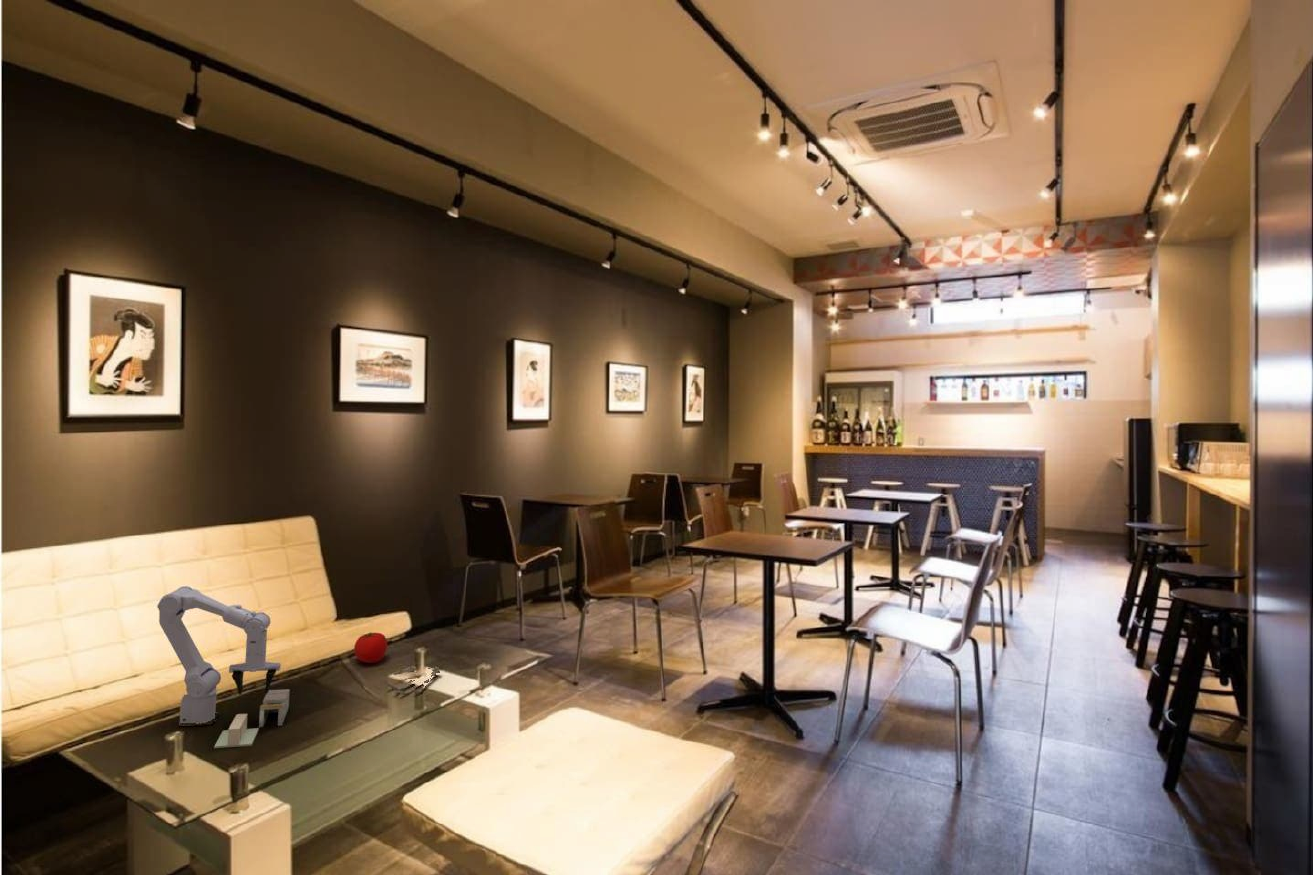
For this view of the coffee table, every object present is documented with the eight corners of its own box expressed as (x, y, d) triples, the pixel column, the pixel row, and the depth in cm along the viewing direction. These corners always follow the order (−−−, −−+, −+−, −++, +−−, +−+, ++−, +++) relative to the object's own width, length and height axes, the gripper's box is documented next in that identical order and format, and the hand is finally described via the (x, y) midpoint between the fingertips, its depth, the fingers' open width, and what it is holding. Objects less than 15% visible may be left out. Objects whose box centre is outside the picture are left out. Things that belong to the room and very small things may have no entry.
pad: (214, 748, 212) (214, 746, 212) (222, 732, 221) (223, 730, 221) (251, 745, 215) (251, 743, 215) (258, 729, 225) (258, 728, 225)
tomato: (394, 659, 289) (396, 632, 288) (368, 670, 277) (370, 641, 276) (372, 652, 294) (374, 625, 294) (345, 662, 282) (347, 635, 281)
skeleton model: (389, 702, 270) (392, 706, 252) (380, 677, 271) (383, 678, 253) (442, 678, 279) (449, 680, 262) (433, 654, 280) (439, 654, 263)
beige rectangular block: (227, 745, 213) (228, 729, 213) (235, 729, 223) (236, 714, 222) (238, 744, 214) (239, 728, 214) (246, 728, 224) (247, 713, 223)
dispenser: (258, 727, 227) (260, 706, 226) (266, 709, 238) (267, 690, 238) (281, 725, 229) (282, 705, 228) (288, 708, 240) (289, 689, 240)
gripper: (227, 657, 222) (225, 699, 223) (278, 655, 227) (276, 696, 227) (232, 649, 229) (230, 689, 229) (282, 647, 233) (280, 687, 234)
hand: (253, 692), depth 229 cm, fingers open, 7 cm apart
